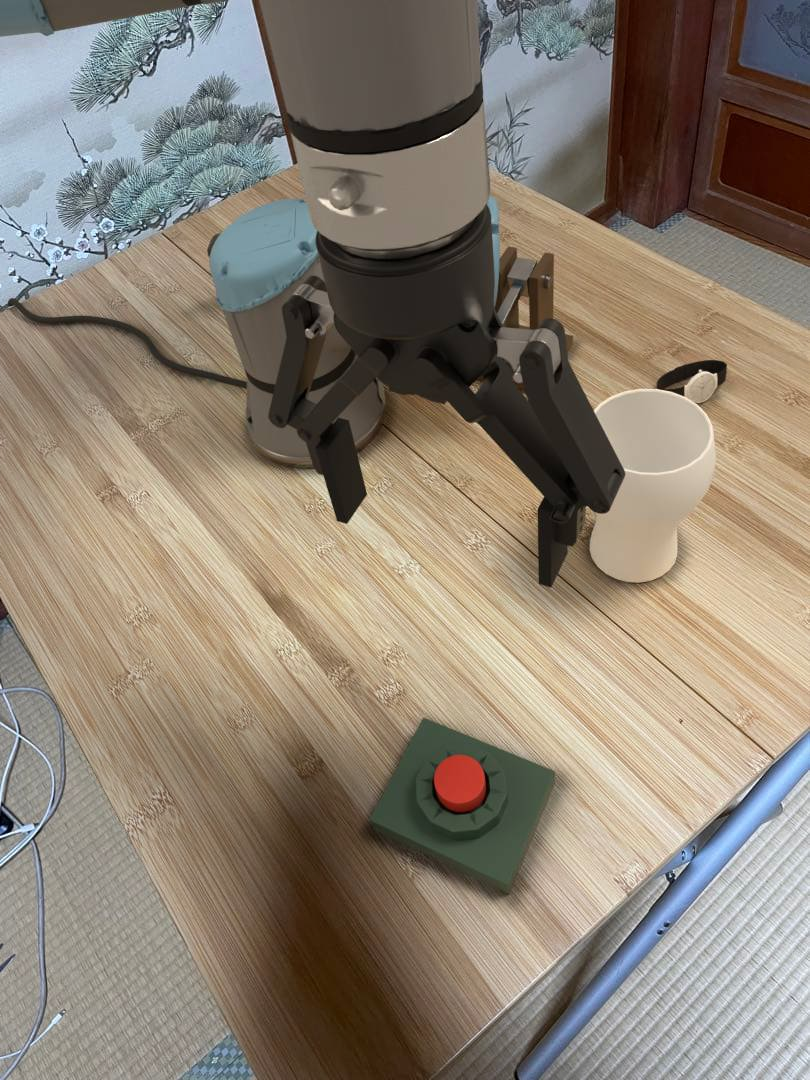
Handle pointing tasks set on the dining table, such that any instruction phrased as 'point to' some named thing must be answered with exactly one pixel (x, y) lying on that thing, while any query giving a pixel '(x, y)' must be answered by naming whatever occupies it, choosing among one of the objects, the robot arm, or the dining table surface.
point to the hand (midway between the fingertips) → (447, 537)
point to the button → (460, 783)
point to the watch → (696, 379)
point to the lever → (516, 288)
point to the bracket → (538, 295)
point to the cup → (651, 480)
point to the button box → (474, 836)
